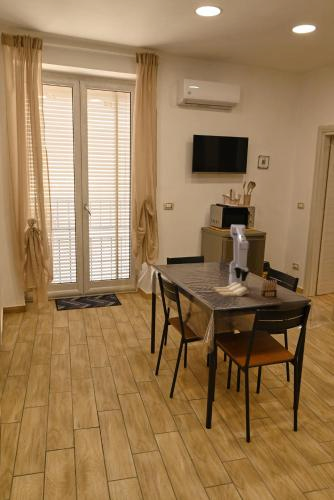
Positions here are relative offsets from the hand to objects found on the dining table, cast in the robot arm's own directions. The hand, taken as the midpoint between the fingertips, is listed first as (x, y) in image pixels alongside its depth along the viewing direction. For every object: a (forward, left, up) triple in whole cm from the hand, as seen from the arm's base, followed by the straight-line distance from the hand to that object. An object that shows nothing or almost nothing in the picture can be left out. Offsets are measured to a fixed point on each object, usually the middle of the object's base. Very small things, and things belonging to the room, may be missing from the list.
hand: (240, 279), depth 265 cm
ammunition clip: (+11, +16, -10) cm, 21 cm away
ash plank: (0, -1, -7) cm, 8 cm away
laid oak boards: (0, -11, -10) cm, 14 cm away
